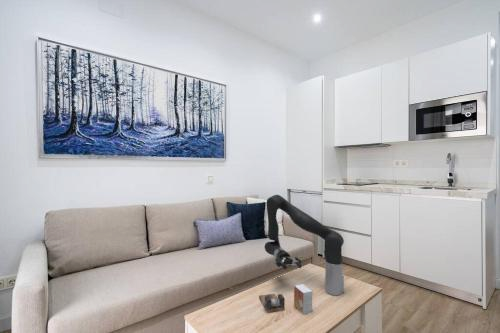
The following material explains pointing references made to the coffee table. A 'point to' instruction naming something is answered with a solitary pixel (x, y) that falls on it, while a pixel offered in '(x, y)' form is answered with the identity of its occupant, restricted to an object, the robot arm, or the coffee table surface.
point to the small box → (303, 298)
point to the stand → (273, 302)
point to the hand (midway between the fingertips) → (293, 267)
